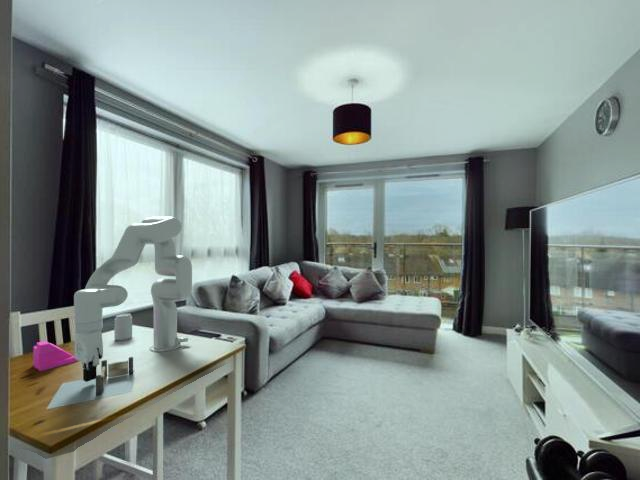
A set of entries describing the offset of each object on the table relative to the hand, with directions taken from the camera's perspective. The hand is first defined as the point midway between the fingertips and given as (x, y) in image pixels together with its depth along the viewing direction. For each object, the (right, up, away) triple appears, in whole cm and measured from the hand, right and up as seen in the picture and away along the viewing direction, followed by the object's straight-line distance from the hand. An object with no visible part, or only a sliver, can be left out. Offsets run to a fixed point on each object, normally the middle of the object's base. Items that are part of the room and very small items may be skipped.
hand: (90, 379), depth 102 cm
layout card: (+3, -2, -2) cm, 5 cm away
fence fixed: (+8, -2, +1) cm, 8 cm away
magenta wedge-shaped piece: (-27, -3, +18) cm, 33 cm away
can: (-21, -2, +49) cm, 53 cm away
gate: (+5, -1, -1) cm, 6 cm away
